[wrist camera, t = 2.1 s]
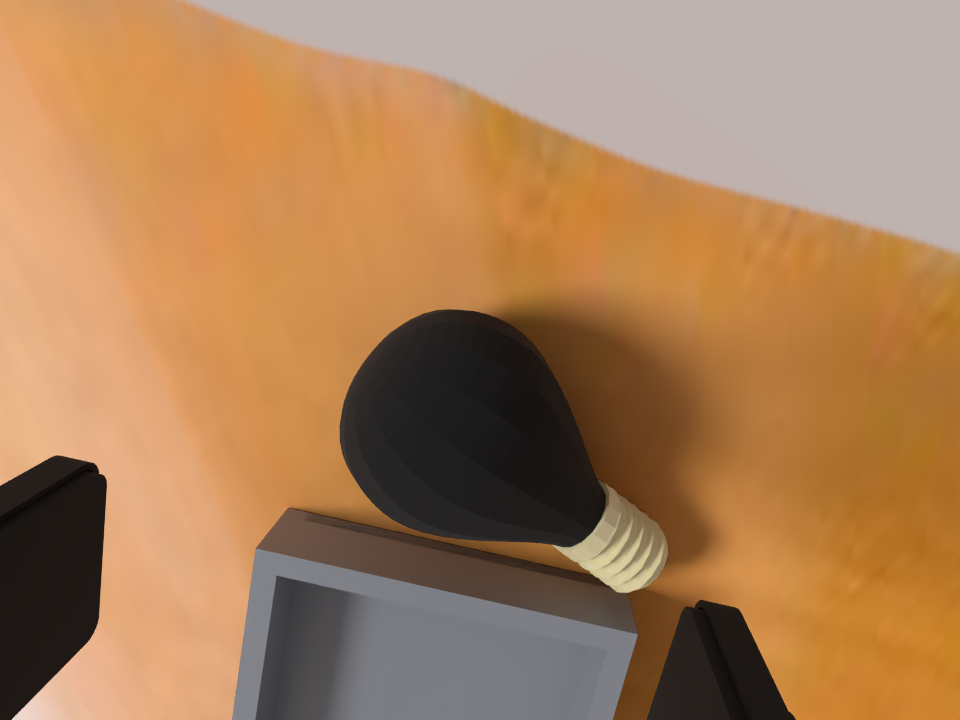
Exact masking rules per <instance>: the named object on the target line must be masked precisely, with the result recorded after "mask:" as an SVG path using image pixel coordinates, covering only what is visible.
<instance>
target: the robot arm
mask: <svg viewBox="0 0 960 720" xmlns="http://www.w3.org/2000/svg"><path fill="white" fill-rule="evenodd" d="M106 490H107V481H106V478H105V476H104V475H102V474H99V470H98V467H97V466H96V465H95V464H94V463H91V462H86V461H82V460H77V459H73V458H68V457H64V456H54V457H51V458H49V459H47V460H46V461H44V462H42V463H40V464H39V465H37V466H35V467H33V468H31V469H30V470H28V471H26V472H24V473H22V474H21V475H19V476H17V477H15V478H14V479H12V480H10V481H8V482H6V483H5V484H3V485H1V486H0V720H12V718H13V717H14V716H15V715H16V714H17V713H18V712H19V711H20V710H21V709H22V708H23V707H24V706H25V705H26V704H27V703H28V702H29V701H30V700H31V699H32V698H33V697H34V696H35V695H36V694H37V693H38V692H39V691H40V690H41V689H42V688H43V687H44V686H45V685H46V684H47V683H48V682H49V681H50V680H51V679H52V678H53V677H54V676H55V675H56V674H57V673H58V672H59V671H60V670H61V669H62V668H63V667H64V666H65V665H66V664H67V663H68V662H69V661H70V660H71V658H72V657H73V656H74V655H75V654H76V653H77V652H78V651H79V650H80V649H81V648H82V647H83V646H84V645H85V644H86V643H87V642H88V641H89V640H90V638H91V636H92V635H93V633H94V631H95V629H96V626H97V623H98V619H99V607H100V590H101V573H102V556H103V540H104V523H105V506H106ZM647 720H796V719H795V718H794V716H793V715H792V713H790V712H788V710H787V707H786V705H785V703H784V701H783V699H782V697H781V695H780V693H779V691H778V689H777V687H776V684H775V682H774V680H773V678H772V676H771V674H770V672H769V670H768V668H767V666H766V664H765V661H764V659H763V657H762V655H761V653H760V651H759V649H758V647H757V645H756V643H755V641H754V639H753V636H752V634H751V632H750V630H749V628H748V626H747V624H746V622H745V620H744V618H743V616H742V613H741V612H740V610H739V609H738V608H735V607H731V606H726V605H722V604H717V603H713V602H708V601H704V600H700V601H698V603H697V604H696V605H695V608H692V607H685V608H684V610H683V611H682V614H681V617H680V620H679V623H678V626H677V629H676V632H675V635H674V638H673V641H672V644H671V647H670V650H669V653H668V656H667V660H666V663H665V666H664V669H663V672H662V675H661V678H660V681H659V684H658V687H657V690H656V693H655V696H654V699H653V703H652V706H651V709H650V712H649V715H648V718H647Z"/></svg>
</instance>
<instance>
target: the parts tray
mask: <svg viewBox="0 0 960 720" xmlns="http://www.w3.org/2000/svg"><path fill="white" fill-rule="evenodd" d="M637 636H638V632H637V628H636V624H635V620H634V616H633V612H632V608H631V604H630V600H629V596H628V593H620V592H616V591H615V590H614V589H612V588H611V587H610V585H607V584H605V583H604V582H603V581H601V580H600V579H599V578H597V577H595V576H591V575H586V574H582V573H577V572H573V571H568V570H564V569H559V568H555V567H550V566H546V565H541V564H537V563H532V562H528V561H523V560H519V559H514V558H510V557H506V556H501V555H497V554H492V553H488V552H483V551H479V550H474V549H470V548H465V547H461V546H456V545H452V544H447V543H443V542H438V541H434V540H429V539H425V538H420V537H416V536H411V535H407V534H403V533H398V532H394V531H389V530H385V529H380V528H376V527H371V526H367V525H362V524H358V523H353V522H349V521H344V520H340V519H335V518H331V517H326V516H322V515H317V514H313V513H309V512H304V511H300V510H295V509H291V508H288V509H287V510H286V511H285V512H284V514H283V515H282V516H281V517H280V519H279V520H278V521H277V522H276V524H275V525H274V526H273V527H272V529H271V530H270V531H269V532H268V534H267V535H266V536H265V538H264V539H263V540H262V541H261V543H260V544H259V545H258V546H257V548H256V550H255V558H254V565H253V572H252V579H251V587H250V594H249V601H248V609H247V616H246V623H245V630H244V638H243V645H242V652H241V659H240V667H239V674H238V681H237V688H236V696H235V703H234V710H233V717H232V720H613V717H614V714H615V710H616V707H617V704H618V700H619V697H620V694H621V690H622V687H623V683H624V680H625V677H626V673H627V670H628V667H629V663H630V660H631V657H632V653H633V650H634V647H635V643H636V640H637Z"/></svg>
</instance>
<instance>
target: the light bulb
mask: <svg viewBox="0 0 960 720" xmlns="http://www.w3.org/2000/svg"><path fill="white" fill-rule="evenodd" d="M340 443H341V448H342V453H343V456H344V459H345V462H346V464H347V467H348V468H349V470H350V472H351V474H352V476H353V477H354V479H355V480H356V482H357V483H358V485H359V486H360V488H361V489H362V490H363V492H364V493H365V495H366V496H367V497H368V498H369V499H370V500H371V502H372V503H373V504H374V505H375V506H376V507H377V508H378V509H380V510H381V511H382V512H383V513H384V514H386V515H387V516H388V517H390V518H391V519H393V520H394V521H396V522H398V523H400V524H402V525H404V526H406V527H408V528H411V529H414V530H417V531H420V532H423V533H428V534H432V535H437V536H442V537H449V538H456V539H466V540H480V541H504V542H531V543H544V544H552V546H553V547H555V548H556V549H557V550H558V551H560V552H561V553H563V554H564V555H565V556H567V557H568V558H570V559H571V560H572V561H574V562H579V565H580V566H581V567H583V568H584V569H585V570H589V572H590V573H591V574H593V575H594V576H595V577H597V578H599V579H600V580H601V581H603V582H604V583H605V584H607V585H610V587H611V588H612V589H614V590H615V591H616V592H620V593H629V592H631V591H634V590H639V589H641V588H644V587H646V586H648V585H649V584H650V583H652V582H653V581H654V580H655V579H656V578H657V577H658V576H659V574H660V572H661V571H662V569H663V568H664V566H665V563H666V559H667V556H668V545H667V541H666V538H665V535H664V534H663V532H662V530H661V528H660V527H659V525H658V523H657V522H655V521H653V520H652V519H650V518H649V517H648V516H647V514H645V513H643V512H641V511H640V510H638V508H637V507H636V506H635V505H633V504H631V503H629V502H628V500H627V499H626V498H624V497H623V496H621V495H619V494H617V492H616V490H615V489H613V488H611V487H609V486H608V485H607V484H605V483H604V482H602V481H600V480H598V479H597V478H596V476H595V473H594V470H593V468H592V465H591V463H590V460H589V457H588V454H587V451H586V449H585V446H584V443H583V440H582V437H581V435H580V432H579V429H578V427H577V424H576V421H575V419H574V416H573V414H572V412H571V409H570V407H569V404H568V402H567V400H566V398H565V396H564V394H563V392H562V390H561V388H560V386H559V384H558V382H557V380H556V378H555V376H554V375H553V373H552V371H551V369H550V367H549V366H548V364H547V362H546V361H545V359H544V357H543V356H542V355H541V353H540V352H539V351H538V349H537V348H536V346H535V345H534V344H533V343H532V342H531V341H530V340H529V339H528V338H527V337H526V336H525V335H524V334H523V333H521V332H520V331H519V330H518V329H516V328H515V327H513V326H511V325H510V324H508V323H506V322H504V321H502V320H500V319H498V318H496V317H493V316H490V315H487V314H484V313H479V312H475V311H466V310H451V309H449V310H436V311H432V312H428V313H424V314H422V315H420V316H418V317H415V318H413V319H411V320H409V321H408V322H406V323H404V324H403V325H401V326H400V327H398V328H397V329H395V330H394V331H393V332H391V333H390V334H389V335H388V336H387V337H385V338H384V339H383V340H382V341H381V342H380V343H379V344H378V346H377V347H376V348H375V349H374V350H373V351H372V352H371V354H370V355H369V356H368V357H367V359H366V360H365V361H364V363H363V364H362V366H361V367H360V369H359V371H358V372H357V374H356V375H355V377H354V379H353V381H352V383H351V385H350V387H349V389H348V392H347V395H346V398H345V400H344V405H343V409H342V415H341V422H340Z"/></svg>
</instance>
